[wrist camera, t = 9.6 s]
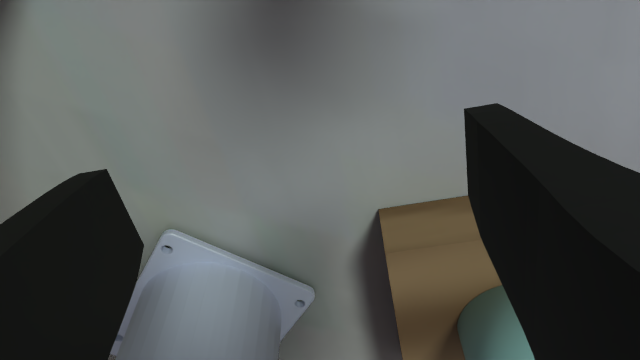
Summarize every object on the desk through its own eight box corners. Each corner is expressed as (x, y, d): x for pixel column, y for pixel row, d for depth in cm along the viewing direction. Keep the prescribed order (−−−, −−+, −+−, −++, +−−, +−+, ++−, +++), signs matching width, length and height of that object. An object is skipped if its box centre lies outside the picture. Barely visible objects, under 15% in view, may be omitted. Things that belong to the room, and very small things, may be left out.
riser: (589, 329, 28) (615, 377, 26) (402, 352, 29) (409, 401, 27) (608, 174, 23) (644, 216, 20) (378, 209, 24) (385, 253, 21)
